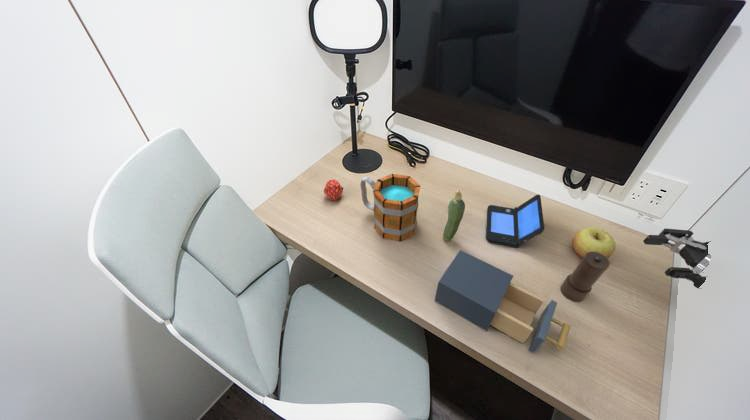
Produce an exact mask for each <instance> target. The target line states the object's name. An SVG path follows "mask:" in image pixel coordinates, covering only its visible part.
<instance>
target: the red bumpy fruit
mask: <svg viewBox="0 0 750 420" xmlns="http://www.w3.org/2000/svg"><path fill="white" fill-rule="evenodd" d="M343 190H344V187H343V185H341V183H340V182H339V181H338V180H336V179H329V180H328V181H327V182H326V184H325V185H324V189H323V193H324V194H325V196H326V197H327V198H328V199H330V200H332V201H337V200H338V199H340V198H341V195H342V193H343Z"/></svg>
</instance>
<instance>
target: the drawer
mask: <svg viewBox="0 0 750 420" xmlns="http://www.w3.org/2000/svg"><path fill="white" fill-rule="evenodd" d="M544 302H545V299H544V298H543V297H541V296H539V295H536V294H535V293H533V292H530V291H529V290H527V289H525V288H523V287H520V286H519V285H516V284H514V282H513V283H512V281H511V282H510V284H509V286H508V289H507V291H506V293H505V295H504V297H503V299H502V301H501V303H500V305H499V307H498V309H497V311H496V313H495V315H494V317H493V319H492V321H491V323H490V325H489V326H492V327H494V328H495V329H497V330H499V331H500V332H502V333H504V334H505V335H507V336H509V337H511V338H513V339H515V340H516V341H518V342H519V343H521V344H525V342H526V341H527V339H528V338H529V337H530V335H531V334H532V332H533V331H534V332H533V335H532V339H531V341H530V344H529V347H528V348H527V351H528V352H530V353H532V354H535V353H536V351H537V350H538V349H539V347H541V345H542V344H543V343H544V342H545V340H546V341H547V342H549V343H551V344H553V345H555V348H557V349H558V350H560V351H563V350H565V347H566V343H567V339H568V337H569V332H570V329H571V324H569V323H567V322H561V321H560V320H558V319H556V318H554V315H555V311H556V308H557V305H558V302H557V301H555V300H553V299H551V300H550V301H549V303H548V304H547V306H546V307H545V308H544V309H543V311H542V312H541V314H540V316H539V319H538V322H537V324H536V328H535V329H534V327H533V326H532V324H533V321H534V318H535V316H536V314H537V312H538V311H539V310H540V308H541V307H542V305H543V304H544ZM551 322H552V323H554V324H556V325H558V326H559V327H561V329H560V333H559V335H558V339H557V340H555V339H554V338H551V337H549V336H548V335H547V334H548V332H549V329H550V325H551Z"/></svg>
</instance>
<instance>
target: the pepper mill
mask: <svg viewBox="0 0 750 420" xmlns="http://www.w3.org/2000/svg"><path fill="white" fill-rule="evenodd" d="M610 265H611V264H610V260H609V259H607V258H606V257H605V256H604V255H602V254H600V253H598V252H588V253H587V254H586V255H585V256H584V258H583V259H582V258H581V260H580V262H579V263H578V264H577V266H575V269H574V270H573V271H572V272H571V273H569V274H568V275H567V277H566V278H565V279H564V280H563V282H562V283H561V285H560V292H561V294H562V295H563V297H565V298H566V299H567V300H569V301H571V302H574V303H579V302H582V301H584V300H585V298H586V297H587V296H588V295H589V294H590V293H591V291H592V289H593V286H594V285H595V283H597V281H598V280H599V279H600V277H601V276H602V275H603V274H604V273H605V271H607V270H608V268H609V267H610Z"/></svg>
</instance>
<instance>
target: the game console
mask: <svg viewBox="0 0 750 420" xmlns="http://www.w3.org/2000/svg"><path fill="white" fill-rule="evenodd" d="M485 227H486V228H485V229H486V230H485V240H486V241H487V242H488V243H492V244H495V245H501V246H505V247H506V246H507V247H512V248H516V249H518V248H520V245H522V244H524V243H526V242H528V241H530V240H531V239H534V238H535V237H537V236H539V235H540V234H542V233H544V231H545V221H544V213H543V206H542V197H541V195H540V194H536V195H534V196H532V197H531V198H529V199H527V200H526V201H525V202H523V203H522V204H520V205H518V206H516V207H514V208H512V207H506V206H500V205H495V204H490V205H488V206H487V209H486V226H485Z"/></svg>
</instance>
